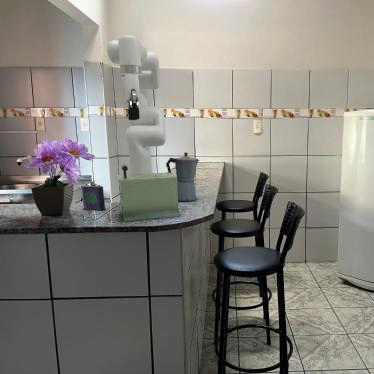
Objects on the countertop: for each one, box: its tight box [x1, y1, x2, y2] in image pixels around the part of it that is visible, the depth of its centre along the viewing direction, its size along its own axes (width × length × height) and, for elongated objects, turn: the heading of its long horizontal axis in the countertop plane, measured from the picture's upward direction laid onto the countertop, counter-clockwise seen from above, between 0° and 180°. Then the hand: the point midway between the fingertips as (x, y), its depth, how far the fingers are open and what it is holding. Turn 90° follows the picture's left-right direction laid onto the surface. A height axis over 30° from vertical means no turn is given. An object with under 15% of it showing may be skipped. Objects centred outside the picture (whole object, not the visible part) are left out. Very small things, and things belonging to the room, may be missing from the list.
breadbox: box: [119, 179, 180, 223], centre depth 125 cm, size 18×15×13 cm
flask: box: [81, 180, 106, 211], centre depth 136 cm, size 9×3×11 cm, turn 72°
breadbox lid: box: [116, 164, 177, 183], centre depth 124 cm, size 18×15×5 cm
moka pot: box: [165, 152, 200, 202], centre depth 151 cm, size 10×15×20 cm, turn 134°
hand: (134, 119), depth 135 cm, fingers open, 9 cm apart
